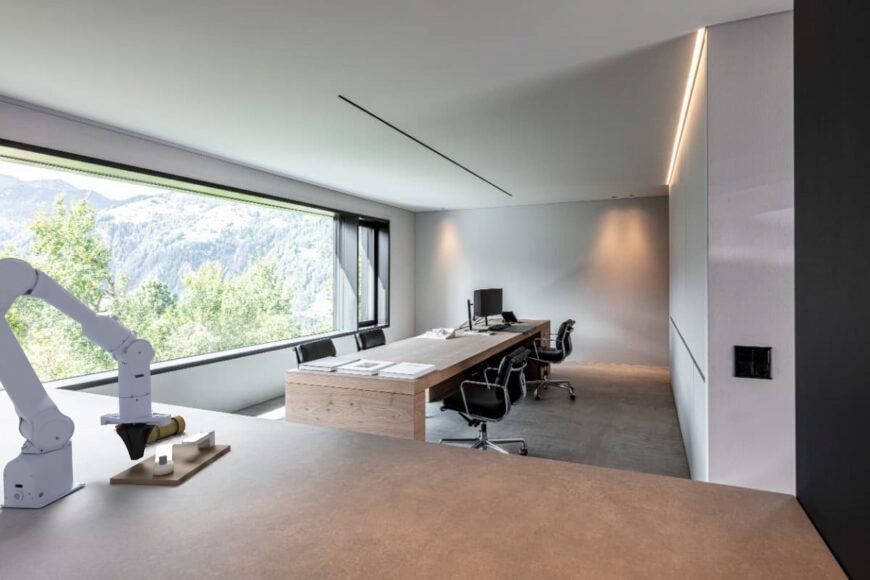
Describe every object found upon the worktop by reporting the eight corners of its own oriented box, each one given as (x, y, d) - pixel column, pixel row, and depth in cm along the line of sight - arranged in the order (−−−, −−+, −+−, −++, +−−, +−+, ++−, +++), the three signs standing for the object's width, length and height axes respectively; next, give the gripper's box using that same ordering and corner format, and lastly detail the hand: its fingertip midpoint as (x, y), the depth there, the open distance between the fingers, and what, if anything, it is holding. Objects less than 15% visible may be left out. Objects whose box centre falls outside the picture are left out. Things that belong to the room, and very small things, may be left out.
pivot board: (177, 485, 88) (177, 480, 88) (109, 483, 90) (109, 478, 90) (230, 449, 107) (230, 445, 107) (174, 448, 109) (174, 444, 109)
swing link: (173, 473, 91) (173, 457, 91) (152, 477, 89) (152, 461, 89) (174, 451, 104) (173, 437, 104) (155, 454, 102) (155, 440, 102)
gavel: (95, 423, 120) (133, 413, 129) (96, 441, 120) (135, 429, 129) (148, 426, 112) (185, 415, 121) (149, 445, 112) (186, 433, 121)
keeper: (195, 457, 100) (194, 441, 100) (182, 457, 100) (181, 441, 100) (215, 445, 107) (214, 430, 107) (202, 445, 108) (202, 430, 107)
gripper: (179, 390, 100) (181, 451, 101) (118, 389, 102) (120, 450, 102) (157, 398, 93) (159, 464, 94) (91, 398, 95) (93, 463, 95)
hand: (137, 458), depth 97 cm, fingers closed
